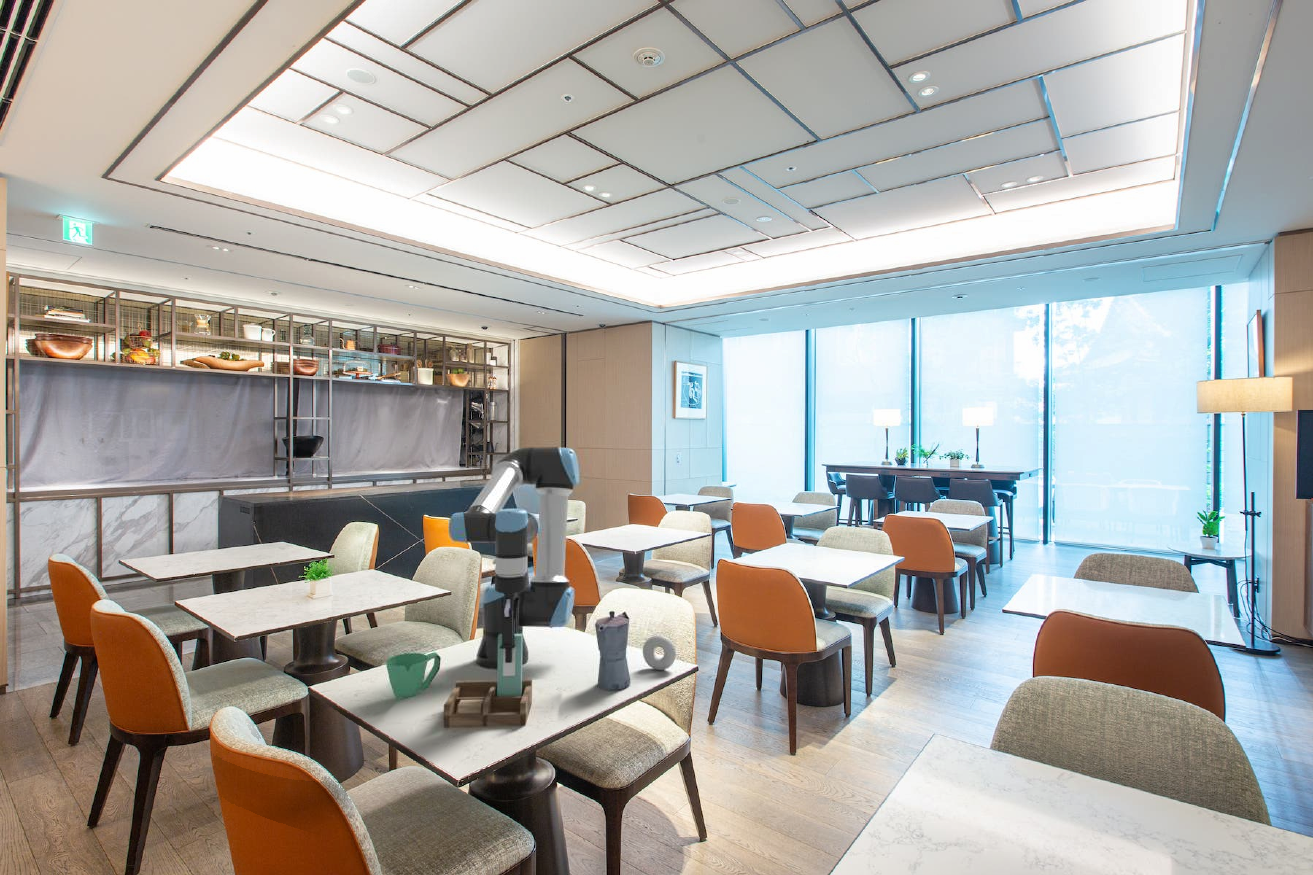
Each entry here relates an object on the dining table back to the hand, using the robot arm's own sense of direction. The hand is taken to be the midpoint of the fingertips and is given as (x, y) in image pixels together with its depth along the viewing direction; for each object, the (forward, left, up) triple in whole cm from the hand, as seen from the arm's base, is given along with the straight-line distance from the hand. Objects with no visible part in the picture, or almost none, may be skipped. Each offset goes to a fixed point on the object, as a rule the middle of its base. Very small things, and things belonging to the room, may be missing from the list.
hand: (509, 672), depth 153 cm
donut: (-30, +38, -10) cm, 50 cm away
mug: (-14, -26, -10) cm, 32 cm away
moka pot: (-20, +25, -10) cm, 34 cm away
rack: (+3, -4, -10) cm, 11 cm away
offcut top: (+5, -8, -7) cm, 12 cm away
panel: (0, 0, -7) cm, 7 cm away
